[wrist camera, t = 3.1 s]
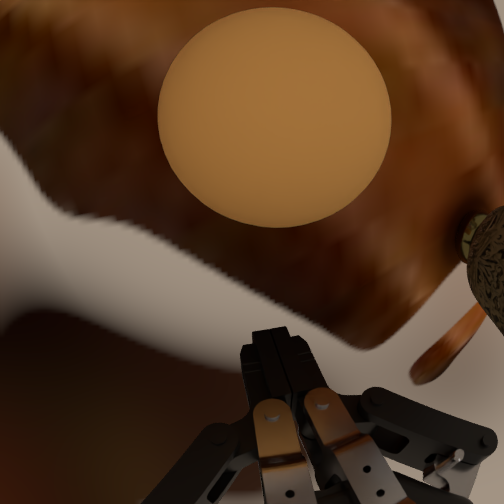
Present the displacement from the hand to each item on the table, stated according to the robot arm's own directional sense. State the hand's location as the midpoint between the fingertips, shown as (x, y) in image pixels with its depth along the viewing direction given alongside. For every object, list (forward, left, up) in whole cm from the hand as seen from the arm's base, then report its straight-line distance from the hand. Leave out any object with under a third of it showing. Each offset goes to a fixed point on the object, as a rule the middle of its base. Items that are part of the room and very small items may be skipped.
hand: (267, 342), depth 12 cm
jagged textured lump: (-3, +14, -2) cm, 15 cm away
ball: (-9, 0, +1) cm, 10 cm away
